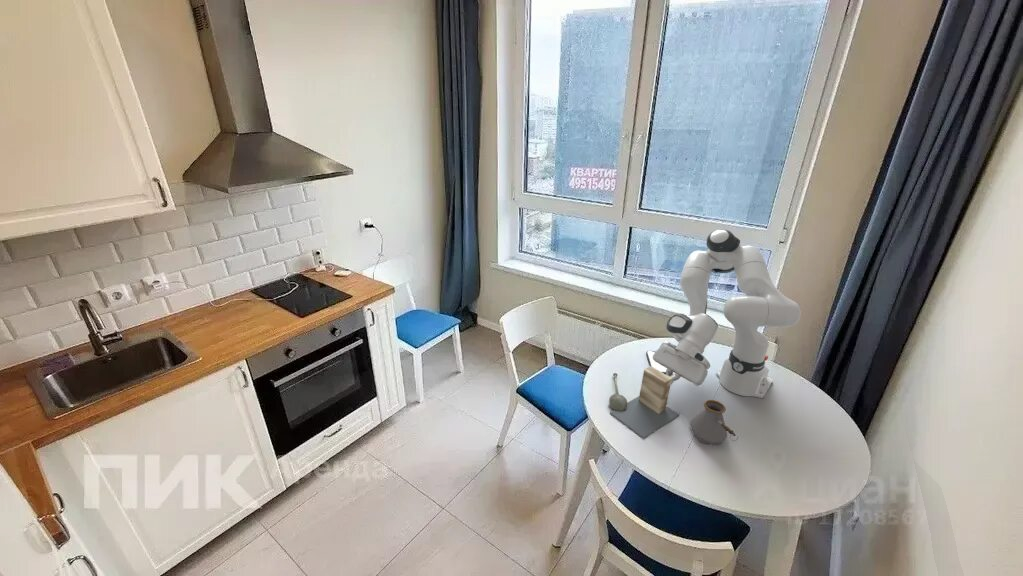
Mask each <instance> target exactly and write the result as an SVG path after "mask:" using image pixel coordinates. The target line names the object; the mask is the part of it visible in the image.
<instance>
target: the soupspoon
mask: <svg viewBox="0 0 1023 576" xmlns="http://www.w3.org/2000/svg"><path fill="white" fill-rule="evenodd" d="M612 375H613V377H614V384H615V394H612V395H610V396H609V399H608V402H609V406H610V408H612V410H617V411H623V410H625V409H626V408H627V403H628V401H627V398H626V397H625V396H624V395H622V394H619V387H618V382H617V381H618V380H617V378H618V373H616V372H614V373H613V374H612Z"/></svg>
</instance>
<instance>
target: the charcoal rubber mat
mask: <svg viewBox="0 0 1023 576" xmlns="http://www.w3.org/2000/svg"><path fill="white" fill-rule="evenodd" d="M609 414H610V415H611V416H613V417H614V418H615V419H616V420H618V421H620V422H621V423H622V424H623V425H625V426H626V427H627V428H628V429H630V430H631V431H633V432H634V434H637V435H638V436H639V437H641V438H642V439H643V440H644V439H645V438H647V437H648V436H650V435H652V434H653V433H655V432H657V431H658V430H660V429H661V428H662V427H665V425H667V424H668V423H670V422H671V421H673V420H675V419H676V418H677V417H679V416H680V413H678V412H676V411H674V410H673V409H672V408H671V407H669V406H667V405H666V409H665V410H664V411H662V412H661V413H659V414H658V413H657V412H655V411H654V410H652V409H651V408H649V407H648V406H646V405H645V404H643V403H642V402H640V401H639V395H638V396H637V397H635V398H633V399H632V400H629V401H627V408H626V409H625V410H623V411H617V410H615V409H612V411H610V412H609Z"/></svg>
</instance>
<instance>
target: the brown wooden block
mask: <svg viewBox="0 0 1023 576" xmlns="http://www.w3.org/2000/svg"><path fill="white" fill-rule="evenodd" d="M642 374H643V375H642V381H641V385H640V390H639V395H638V396H639V401H640V402H642V403H643V404H645V405H646V406H648V407H649V408H651V409H652V410H654V411H655V412H657V413H658V414H659V413H661V412H662V411H664V410H665V409H666V406H667V404H668V399H669V395H670V390H671V386H672V384H671V382H672V378H673V377H671V376H670V375H669V376H667V375H665V374H664V373H662V372H660V371H659V370H657V369H655V368H654V367H652V366H650V365H649V367H647V368H644V369H643V373H642Z"/></svg>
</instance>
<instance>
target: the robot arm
mask: <svg viewBox="0 0 1023 576" xmlns="http://www.w3.org/2000/svg"><path fill="white" fill-rule="evenodd" d="M706 247H707V249H706V250H704V251H703V250H695V251H692V252H691V253H690V254H689V256H688V257H687V259H686V261H685V263H684V265H683V268H682V271H681V275H680V279H679V280H680V281H679V282H680V284H679V285H680V288H681V290H682V293H683V294H684V297H686V299H687V301H688V306H689V314H684V313H675V314H674V315H672V316H671V317H669V318H668V320H667V323H666V326H665V327H666V330H667V331H668V333H669V334H670V335H671V336H672V338H674V339H675V341H677V345H675V344H673V343H671V342H669V341H665V342H662V343H661V344H660V346H659V347H658V348H657V349H656V350H655V351H656V352H655V353H654V354H653V360H654V361H655V362H657V363H659V364H660V365H662V366H664V367H665V368H667V370H666V375H667V376H669V377H670V375H669V373H670V374H671V373H672V372H673V374H674V373H675V374H674V376H673V377H671V378H672V382H671V385H673V383H674V382H675V381H678V380H680V378H683V379H685V380H687V381H688V382H690V383H692V384H693V385H696V386H697V387H698V386H699V387H700V386H702V385H703V383H704V382H705V380H706V378H707V375H708V372H709V371H708V370H709V369H710V368H711V363H710V362H709V360H708V359H707V358H706V357H705V356H704V355H703V353H704V352H705V348H706V347H707V346H708V345H709V344H710V343H711V341H712V340H714V339H713V338H714V337H715V335H716V334H717V331H718V328H719V325H718V323H717V321H716V320H715V319H714V318H713V317H711V316H710V315H709V314H707V311H708V310H707V309H708V290H709V285H710V284H709V283H710V278H711V274H712V273H714V274H728V273H732V272H734V273H735V279H736V283H737V287H738V289H739V291H740V292H741V293H742V294H743V295H737V296H736V295H735V296H730V297H728V299H727V300H725V302H724V303H723V308H722V309H723V310H722V311H723V316H724V318H725V319H726V320H727V321H728V322H729V323H730V324H731V325H732V327H733V328H734V332H735V337H734V343H733V347H732V349H731V351H730V352H729V355H728V358H726V359H725V360H724V361H723V364H722V367H721V370H718V371H716V376H717V378H718V379H719V383H720V384H721V386H723V388H724V389H726V390H727V391H729V392H731V393H733V394H736V395H739V396H744V397H756V398H760V399H761V398H762V399H763V398H764V397H765V396H766V394H767V392H768V391H769V389H770V387H771V386H770V385H772V384H773V379H772V378H771V377H770V376H768V375H769V372H770V370H769V368H768V367H767V366H766V361H767V360H768V359H769V355H767V352H768V349H769V346H770V345H769V340H768V338H767V336H766V335H764V334H763V333H762V332H760V331H758V328H760V327H764V328H765V327H767V328H778V329H779V328H780V329H781V328H790V327H795V326H796V325H797V324H798V323H799V322H800V320H801V316H802V312H801V308H800V306H799V304H798V303H797V302H796V301H795V300H792V299H790V298H789V297H787V296H785V295H784V294H783V293H782V292H781V291H780V290H779V289H778V288H777V287H776V285H774V283H773V281H772V279H771V276H770V273H769V271H768V267H767V263H766V260H765V259H764V256H763V255H762V253H761V251H760V249H759V248H757V247H756V246H753V245H741V240H740V239H739V237H737V236H736V235H734V234H733V233H732V231H731V230H728V229H726V228H717V229H715V230H713V231H711V232H710V233H709V234H708V236H707V238H706ZM771 383H772V384H771Z"/></svg>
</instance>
